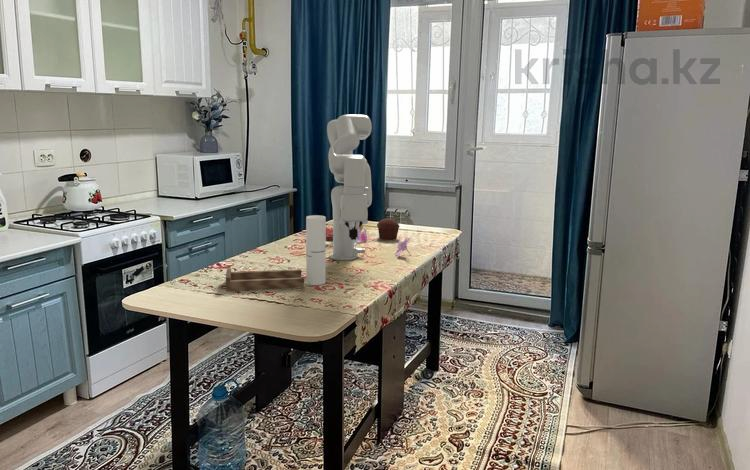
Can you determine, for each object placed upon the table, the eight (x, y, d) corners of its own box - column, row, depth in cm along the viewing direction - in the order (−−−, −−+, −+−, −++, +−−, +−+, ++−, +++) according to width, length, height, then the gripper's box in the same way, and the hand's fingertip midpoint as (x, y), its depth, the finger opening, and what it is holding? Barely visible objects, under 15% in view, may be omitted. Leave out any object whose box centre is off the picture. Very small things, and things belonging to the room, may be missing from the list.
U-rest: (301, 278, 217) (301, 265, 216) (304, 287, 205) (304, 274, 204) (227, 280, 211) (227, 268, 210) (226, 291, 200) (225, 277, 198)
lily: (398, 253, 260) (390, 238, 256) (420, 246, 256) (412, 231, 253) (395, 267, 251) (387, 251, 247) (418, 260, 247) (410, 244, 243)
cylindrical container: (322, 285, 208) (322, 219, 203) (303, 284, 210) (303, 218, 204) (327, 280, 215) (328, 215, 209) (309, 278, 216) (309, 214, 211)
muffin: (403, 238, 287) (404, 218, 285) (392, 242, 278) (392, 222, 275) (383, 234, 293) (384, 215, 291) (371, 238, 284) (372, 219, 282)
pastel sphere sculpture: (322, 234, 291) (322, 217, 289) (367, 236, 290) (368, 218, 288) (315, 246, 266) (315, 227, 264) (365, 248, 266) (366, 229, 264)
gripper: (371, 189, 213) (370, 236, 217) (332, 189, 209) (332, 237, 213) (376, 192, 205) (374, 240, 209) (335, 192, 202) (334, 242, 206)
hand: (353, 239), depth 211 cm, fingers closed
